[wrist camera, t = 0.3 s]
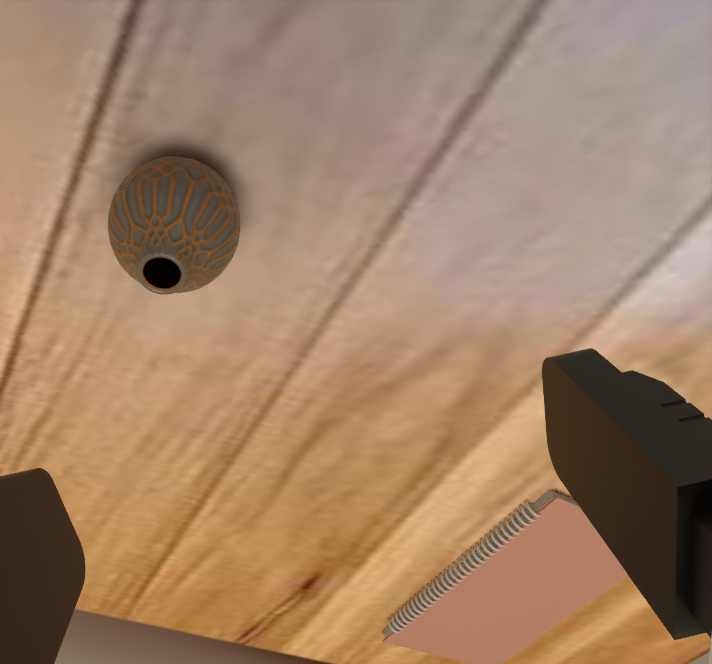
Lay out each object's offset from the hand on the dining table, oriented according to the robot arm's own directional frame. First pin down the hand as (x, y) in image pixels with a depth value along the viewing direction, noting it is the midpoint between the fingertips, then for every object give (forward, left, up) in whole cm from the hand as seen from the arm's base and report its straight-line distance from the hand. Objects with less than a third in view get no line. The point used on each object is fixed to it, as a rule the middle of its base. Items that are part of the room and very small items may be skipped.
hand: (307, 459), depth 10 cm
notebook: (+53, -22, -30) cm, 64 cm away
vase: (+2, -11, -29) cm, 31 cm away
